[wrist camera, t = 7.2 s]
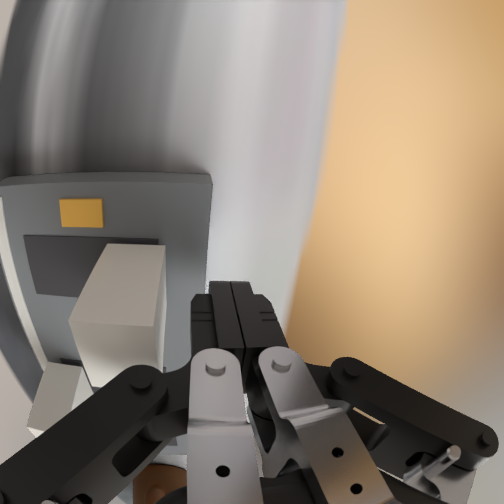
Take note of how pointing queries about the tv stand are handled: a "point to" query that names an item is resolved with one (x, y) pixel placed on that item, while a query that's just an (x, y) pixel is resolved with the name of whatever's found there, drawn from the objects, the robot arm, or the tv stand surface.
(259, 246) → the tv stand surface
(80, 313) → the block
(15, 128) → the tv stand surface
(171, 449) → the breaker panel
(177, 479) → the mug
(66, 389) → the block
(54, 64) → the tv stand surface
